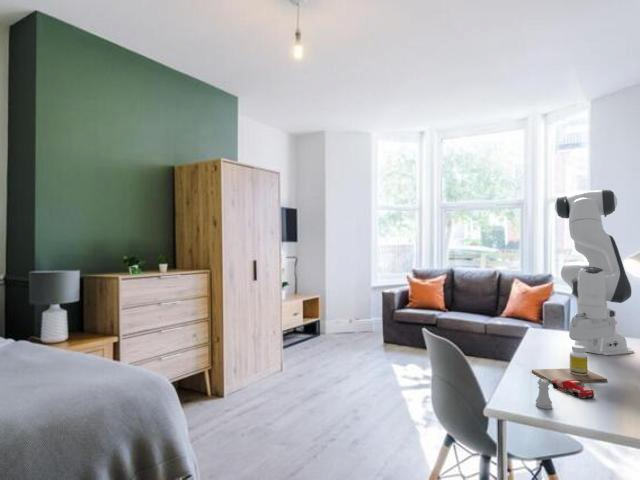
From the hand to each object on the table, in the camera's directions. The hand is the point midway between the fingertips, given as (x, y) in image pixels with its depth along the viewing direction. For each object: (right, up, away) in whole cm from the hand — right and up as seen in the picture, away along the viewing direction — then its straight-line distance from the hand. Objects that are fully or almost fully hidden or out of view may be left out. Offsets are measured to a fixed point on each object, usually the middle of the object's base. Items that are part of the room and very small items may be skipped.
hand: (592, 350), depth 146 cm
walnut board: (-9, -9, 0) cm, 13 cm away
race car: (-16, -10, -14) cm, 24 cm away
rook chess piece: (-32, -10, -26) cm, 42 cm away
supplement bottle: (-5, -9, 0) cm, 10 cm away
